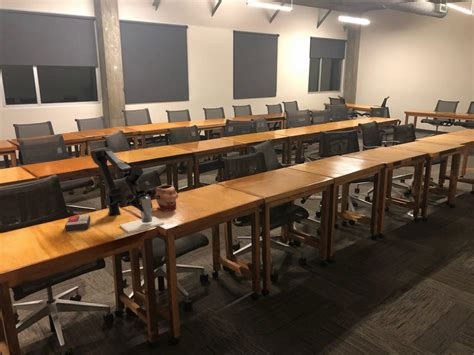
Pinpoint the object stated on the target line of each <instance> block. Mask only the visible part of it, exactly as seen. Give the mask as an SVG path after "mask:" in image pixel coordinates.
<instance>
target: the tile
mask: <svg viewBox="0 0 474 355" xmlns="http://www.w3.org/2000/svg"><path fill="white" fill-rule="evenodd" d="M162 225H165V222H164V221H163V220H161V219H159V218H158V217H156V216H153V215H152V221H151V222H149V223H143V222H142V219H141V218H140V219H138V220H133V221H130V222H126V223H122V224H121V223H120V224H119V227H120V228H121V229H122V230H124V231H125V232H126V233H128V234H133V233H135V232H138V231H139V232H140V231H143V230H147V229H150V228H154V227H155V228H156V227H159V226H162Z"/></svg>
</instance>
